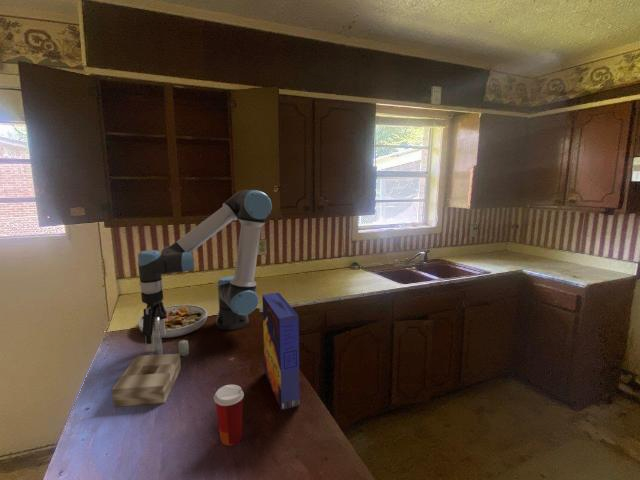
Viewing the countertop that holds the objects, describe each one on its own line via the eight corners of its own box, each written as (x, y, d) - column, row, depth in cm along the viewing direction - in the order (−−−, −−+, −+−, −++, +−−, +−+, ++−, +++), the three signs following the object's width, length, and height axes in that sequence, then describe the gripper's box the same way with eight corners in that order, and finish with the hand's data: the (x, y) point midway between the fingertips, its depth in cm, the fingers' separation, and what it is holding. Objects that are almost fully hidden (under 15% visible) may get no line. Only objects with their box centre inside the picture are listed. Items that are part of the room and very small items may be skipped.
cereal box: (264, 373, 126) (262, 294, 121) (280, 369, 128) (279, 292, 123) (281, 410, 106) (278, 317, 101) (299, 405, 108) (298, 314, 103)
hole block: (180, 368, 129) (179, 353, 128) (164, 402, 110) (163, 385, 109) (138, 371, 127) (136, 356, 126) (113, 406, 108) (111, 389, 107)
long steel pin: (164, 352, 140) (160, 315, 137) (161, 357, 137) (157, 319, 134) (154, 353, 140) (151, 315, 137) (151, 358, 136) (147, 319, 133)
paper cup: (247, 427, 99) (246, 383, 96) (242, 448, 91) (240, 400, 89) (220, 428, 99) (217, 383, 96) (212, 449, 91) (209, 401, 89)
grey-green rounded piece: (189, 351, 142) (188, 339, 141) (187, 355, 138) (186, 344, 137) (180, 351, 141) (179, 340, 140) (178, 356, 138) (177, 344, 137)
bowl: (217, 315, 179) (216, 300, 177) (190, 342, 149) (189, 325, 148) (161, 312, 182) (160, 298, 180) (124, 339, 152) (122, 322, 151)
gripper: (152, 281, 145) (156, 329, 149) (128, 302, 121) (134, 359, 125) (171, 280, 146) (175, 328, 150) (151, 301, 122) (156, 357, 126)
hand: (156, 342), depth 137 cm, fingers open, 13 cm apart
